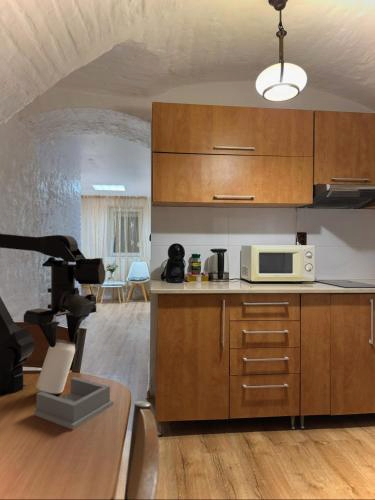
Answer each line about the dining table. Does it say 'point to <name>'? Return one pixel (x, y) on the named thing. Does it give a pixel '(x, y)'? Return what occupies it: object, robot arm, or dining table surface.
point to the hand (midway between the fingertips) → (62, 344)
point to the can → (56, 367)
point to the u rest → (74, 403)
